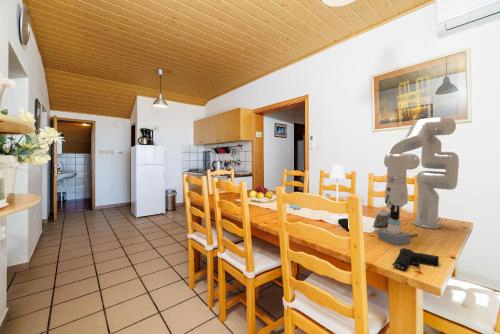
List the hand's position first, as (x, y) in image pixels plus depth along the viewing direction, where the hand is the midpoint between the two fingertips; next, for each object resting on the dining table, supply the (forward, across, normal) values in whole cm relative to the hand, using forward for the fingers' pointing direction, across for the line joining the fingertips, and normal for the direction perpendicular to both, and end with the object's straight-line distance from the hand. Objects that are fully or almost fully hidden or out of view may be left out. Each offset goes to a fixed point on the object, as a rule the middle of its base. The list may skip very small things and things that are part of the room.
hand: (394, 219), depth 103 cm
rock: (+11, +16, +18) cm, 26 cm away
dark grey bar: (+10, +12, 0) cm, 16 cm away
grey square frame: (+10, +4, +7) cm, 13 cm away
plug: (+10, 0, 0) cm, 11 cm away
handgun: (+11, -15, -18) cm, 26 cm away
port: (+10, 0, 0) cm, 10 cm away
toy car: (+11, -4, +23) cm, 26 cm away
